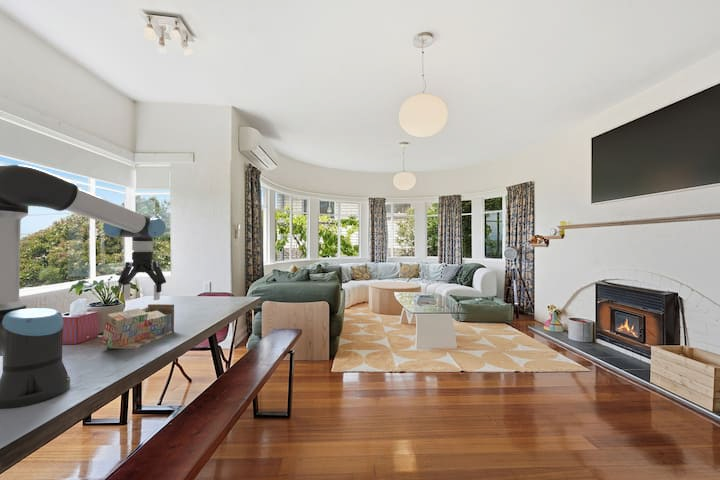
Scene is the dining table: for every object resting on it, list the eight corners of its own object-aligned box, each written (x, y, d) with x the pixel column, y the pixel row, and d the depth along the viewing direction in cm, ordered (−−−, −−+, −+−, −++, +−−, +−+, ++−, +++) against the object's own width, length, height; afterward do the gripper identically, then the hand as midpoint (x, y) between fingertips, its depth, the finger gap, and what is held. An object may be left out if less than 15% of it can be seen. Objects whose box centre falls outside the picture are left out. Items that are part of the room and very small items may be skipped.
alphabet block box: (135, 348, 126) (135, 316, 126) (106, 348, 127) (106, 315, 127) (173, 331, 150) (174, 304, 150) (149, 331, 151) (150, 304, 151)
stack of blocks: (153, 328, 145) (159, 304, 144) (162, 334, 143) (168, 309, 142) (100, 342, 125) (107, 313, 124) (110, 349, 123) (117, 320, 122)
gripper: (175, 251, 141) (174, 298, 141) (122, 250, 143) (121, 297, 142) (164, 251, 134) (163, 301, 133) (108, 251, 135) (107, 300, 135)
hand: (141, 299), depth 138 cm, fingers open, 13 cm apart
